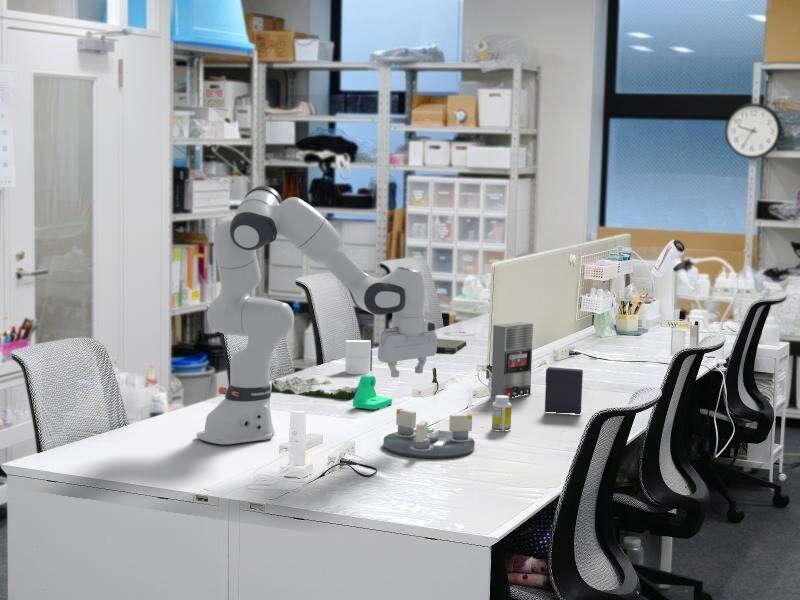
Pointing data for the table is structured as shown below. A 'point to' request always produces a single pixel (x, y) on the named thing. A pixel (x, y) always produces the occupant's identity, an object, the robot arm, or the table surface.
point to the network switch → (449, 346)
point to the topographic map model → (301, 388)
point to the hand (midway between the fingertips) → (406, 375)
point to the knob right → (460, 426)
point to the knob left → (421, 436)
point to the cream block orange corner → (405, 421)
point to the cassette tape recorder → (511, 359)
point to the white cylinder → (358, 356)
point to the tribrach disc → (439, 445)
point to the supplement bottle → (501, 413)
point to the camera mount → (369, 395)
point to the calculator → (563, 390)
